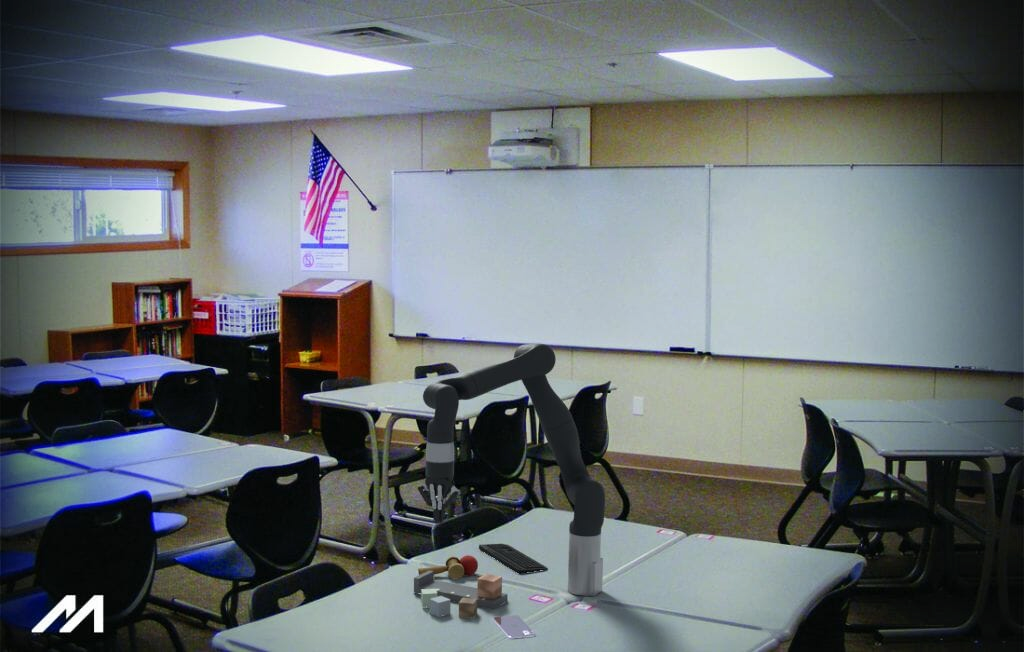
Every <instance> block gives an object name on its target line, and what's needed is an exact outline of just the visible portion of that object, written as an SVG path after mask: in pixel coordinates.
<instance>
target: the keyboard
mask: <svg viewBox="0 0 1024 652" xmlns="http://www.w3.org/2000/svg"><path fill="white" fill-rule="evenodd" d="M479 549H480V550H479ZM478 550H479V551H481V552H482V551H483V552H482V553H484V552H485V553H486V554H485V553H484V554H485V555H487V554H488V555H487V556H489V555H490V556H491V557H490V556H489V557H490V558H492V557H493V558H495V559H496V560H495V559H494V560H495V561H497V560H498V561H499V562H498V561H497V562H498V563H500V562H501V563H502V565H503V564H504V565H503V566H504V567H506V566H507V568H508V567H509V568H510V569H509V568H508V569H509V570H511V569H512V570H514V571H515V572H514V571H513V572H514V573H516V572H517V573H519V574H518V575H522V574H521V573H526V574H528V573H527V572H534V571H540V570H547V569H548V570H549V568H548V566H546V565H544V564H542V563H540V562H538V561H537V560H536V559H534V558H531V557H530V556H528V555H527V554H525V553H523V552H521V551H520V550H518V549H516V548H514V547H513V546H511V545H510V544H505V543H487V544H486V543H485V544H479V545H478ZM493 558H492V559H493ZM501 563H500V564H501ZM512 570H511V571H512ZM548 570H547V571H548ZM517 573H516V574H517ZM534 573H535V572H534Z"/></svg>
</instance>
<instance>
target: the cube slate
mask: <svg viewBox="0 0 1024 652" xmlns="http://www.w3.org/2000/svg"><path fill="white" fill-rule="evenodd" d="M451 603H452V601H451V600H450V599H448V598H445V597H443V596H438V597H435V598H431V599H430V606H429V608H428V609H429V612H430V613H432V614H434V615H433V616H435V615H436V616H435V617H437V616H438V617H437V618H440V617H439V616H441V617H443V616H442V615H445V616H448V615H451ZM430 613H429V614H430ZM432 614H431V615H432ZM447 614H448V615H447Z"/></svg>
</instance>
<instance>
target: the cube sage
mask: <svg viewBox="0 0 1024 652" xmlns="http://www.w3.org/2000/svg"><path fill="white" fill-rule="evenodd" d="M435 597H437V591H436V589H421V595H420V604H421V603H422V605H421V607H422V606H423V607H426V606H427V607H429V606H430V599H431V598H435Z"/></svg>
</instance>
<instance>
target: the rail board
mask: <svg viewBox="0 0 1024 652" xmlns="http://www.w3.org/2000/svg"><path fill="white" fill-rule="evenodd" d="M434 577H435V575H434V571H430V570H429V571H427V572H425V573H423V574H421V575H419V574H418V575H417V576H415V577H413V593H414V592H415V593H421V589H436V591H437V597H438V596H443V597H445V598H448V599H450V600H451V602H454V601H455V602H454V603H459V602H460V600H461V599H462V598H474V599H477V607H479V608H483V607H484V609H489V610H495V609H497V608H499V607H500V606H502V605H504V604H505V603H506V602H508V593H504V592H502V594H501V595H500V596H498V597H496V598H495V599H488V598H483V597H478V596H477V587H473V586H469V585H468V586H467V585H463V584H457V583H453V582H447V581H442V580H436V579H435V578H434ZM415 593H414V594H415Z"/></svg>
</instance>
